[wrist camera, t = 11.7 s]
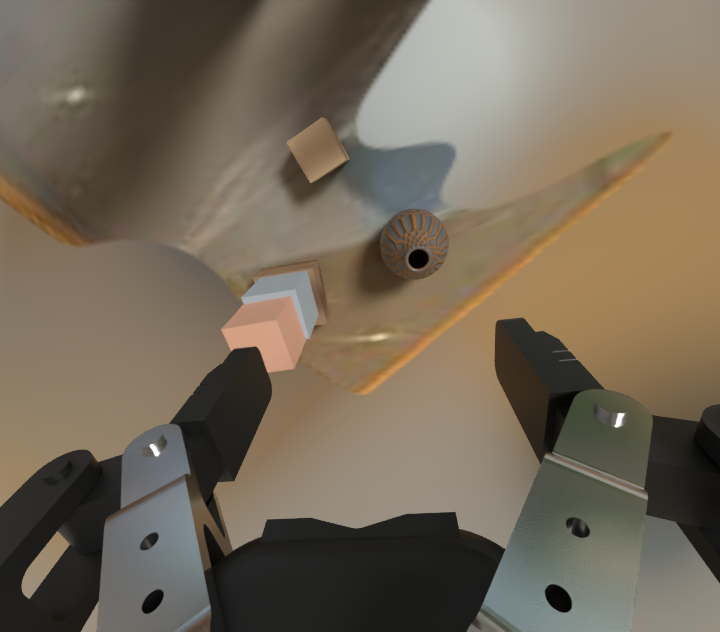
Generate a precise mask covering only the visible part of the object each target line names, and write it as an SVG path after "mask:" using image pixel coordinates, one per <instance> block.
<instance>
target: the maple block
mask: <svg viewBox="0 0 720 632" xmlns="http://www.w3.org/2000/svg"><path fill="white" fill-rule="evenodd" d="M286 143H287V145H288V147H289V148H290V150H291V152H292V153H293V155H294V157H295V158H296V160H297V162H298V163H299V165H300V167H301V168H302V170H303V172H304V174H305V175H306V177H307V179H308V180H309V182H310V183H313V182H315V181H317V180H319V179H320V178H322V177H323V176H325V175H326V174H328V173H330V172H331V171H333V170H334V169H336V168H337V167H339V166H340V165H342V164H343V163H345V162H346V161H348V160H350V159H349V157H348V155H347V153H346V151H345V149H344V148H343V146H342V144H341V142H340V140H339V138H338V136H337V134H336V133H335V131H334V129H333V127H332V125H331V123H330V121H329V120H327V119H325V118H324V117H322V118H320V119H319V120H317V121H316V122H315V123H313V124H312V125H310V126H309V127H307V128H306V129H305V130H303V131H302V132H300V133H299V134H298V135H296V136H295V137H293V138H292V139H291V140H289V141H288V142H286Z"/></svg>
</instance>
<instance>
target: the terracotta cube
mask: <svg viewBox="0 0 720 632" xmlns="http://www.w3.org/2000/svg"><path fill="white" fill-rule="evenodd" d="M221 330H222V333H223V335H224V337H225V339H226V341H227V343H228V346H229V348H230V350H231V351H232V350H233V349H235V348H244V347H254V346H256V347H257V348H258V349H259V350H260V352H261V355H262V358H263V361H264V364H265V367H266V370H267V372H268V373H269V372H276V371H283V370H290V369H295V366H296V363H297V361H298V359H299V356H300V354H301V351H302V348H303V346H304V343H305V341H306V338H305V335H304V332H303V329H302V326H301V323H300V320H299V318H298V315H297V312H296V309H295V306H294V303H293V300H292V297H291V296H287V297H282V298H276V299H271V300H265V301H260V302H254V303H249V304H243V305H242V306H241V308H240V309H239V310H238V311H237V312H236V313H235V314H234V316H233V317H232V318H231V319H230V320H229V321H228V322H227V324H226V325H225V326H224V327H223V328H222V329H221Z"/></svg>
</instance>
